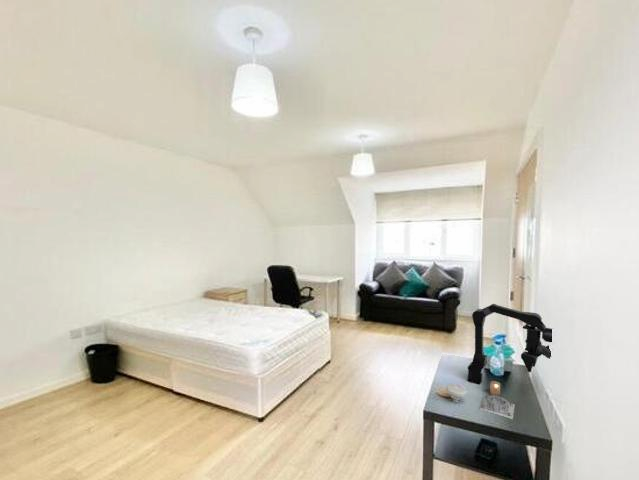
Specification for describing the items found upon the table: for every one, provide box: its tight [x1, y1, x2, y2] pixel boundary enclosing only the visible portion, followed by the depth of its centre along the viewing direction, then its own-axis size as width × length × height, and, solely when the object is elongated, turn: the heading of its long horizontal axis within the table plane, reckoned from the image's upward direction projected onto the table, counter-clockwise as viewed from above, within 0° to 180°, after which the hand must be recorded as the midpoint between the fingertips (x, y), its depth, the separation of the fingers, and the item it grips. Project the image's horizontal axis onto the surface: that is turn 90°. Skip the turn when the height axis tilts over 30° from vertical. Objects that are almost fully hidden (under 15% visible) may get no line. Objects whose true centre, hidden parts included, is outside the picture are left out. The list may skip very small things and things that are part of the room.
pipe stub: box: [489, 380, 501, 397], centre depth 163 cm, size 4×4×6 cm
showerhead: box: [445, 383, 468, 403], centre depth 155 cm, size 9×7×10 cm
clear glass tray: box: [479, 395, 516, 420], centre depth 151 cm, size 13×13×3 cm
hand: (531, 369), depth 161 cm, fingers open, 9 cm apart
